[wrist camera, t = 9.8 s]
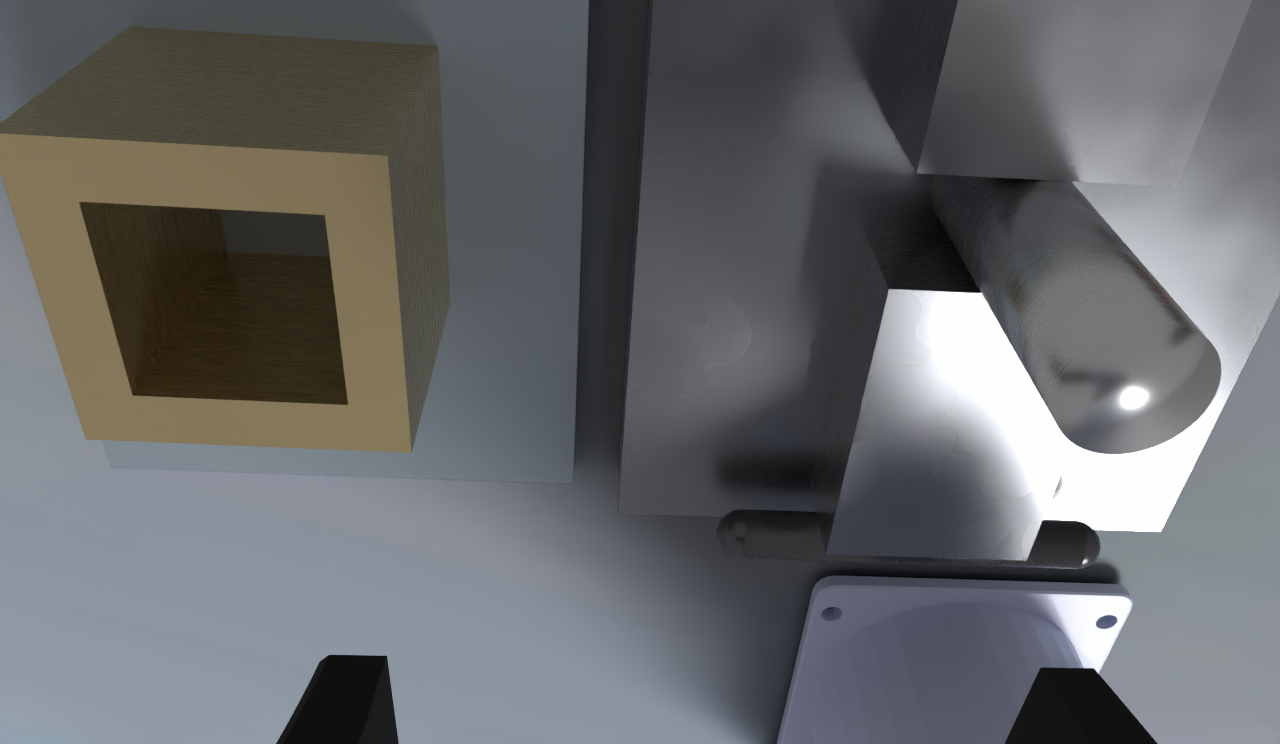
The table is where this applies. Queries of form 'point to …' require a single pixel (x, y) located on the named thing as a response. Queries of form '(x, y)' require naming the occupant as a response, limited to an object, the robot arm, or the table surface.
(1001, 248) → the vise
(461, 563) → the table surface
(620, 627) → the table surface
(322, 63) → the collar
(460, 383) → the mat
